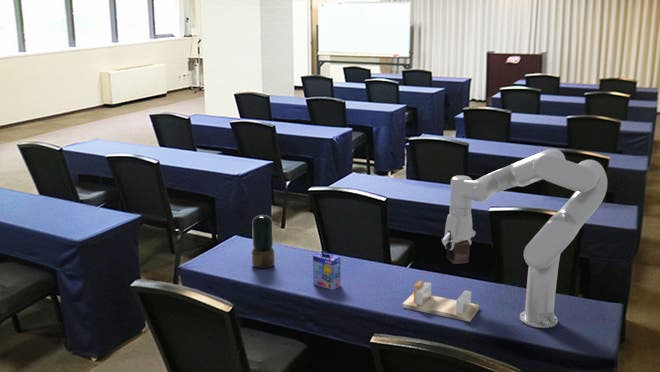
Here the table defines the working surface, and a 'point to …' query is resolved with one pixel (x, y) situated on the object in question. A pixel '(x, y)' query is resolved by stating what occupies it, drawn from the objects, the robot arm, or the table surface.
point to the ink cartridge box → (326, 270)
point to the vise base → (441, 307)
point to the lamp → (262, 242)
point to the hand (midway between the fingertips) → (458, 256)
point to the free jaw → (422, 292)
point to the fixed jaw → (463, 302)
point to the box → (461, 252)
